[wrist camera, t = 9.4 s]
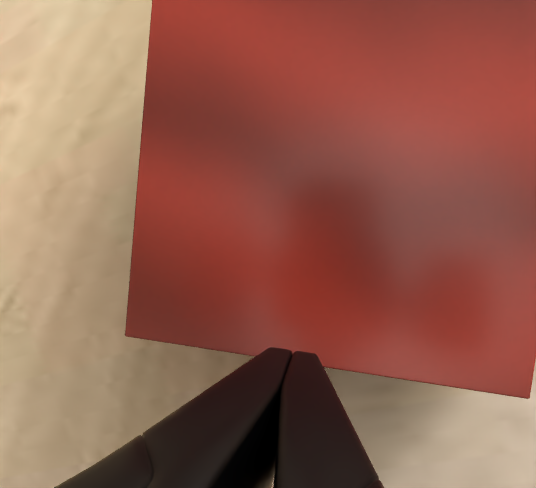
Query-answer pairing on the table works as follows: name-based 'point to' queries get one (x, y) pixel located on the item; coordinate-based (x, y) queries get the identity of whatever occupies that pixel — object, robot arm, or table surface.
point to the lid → (342, 185)
